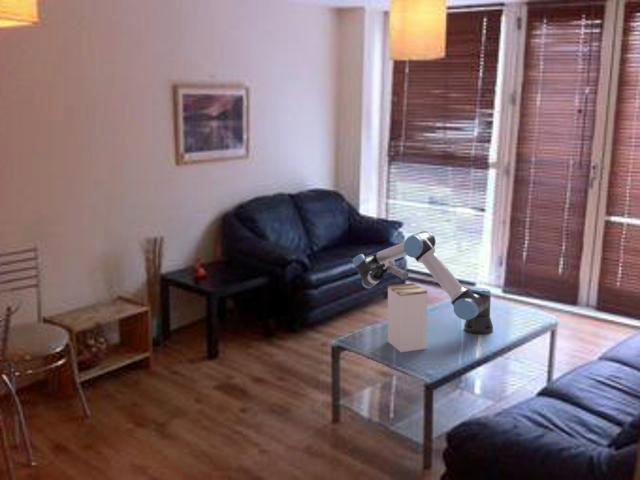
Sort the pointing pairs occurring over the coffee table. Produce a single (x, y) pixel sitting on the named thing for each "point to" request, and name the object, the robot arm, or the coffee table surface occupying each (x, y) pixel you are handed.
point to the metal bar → (397, 271)
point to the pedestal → (407, 317)
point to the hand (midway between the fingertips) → (390, 262)
